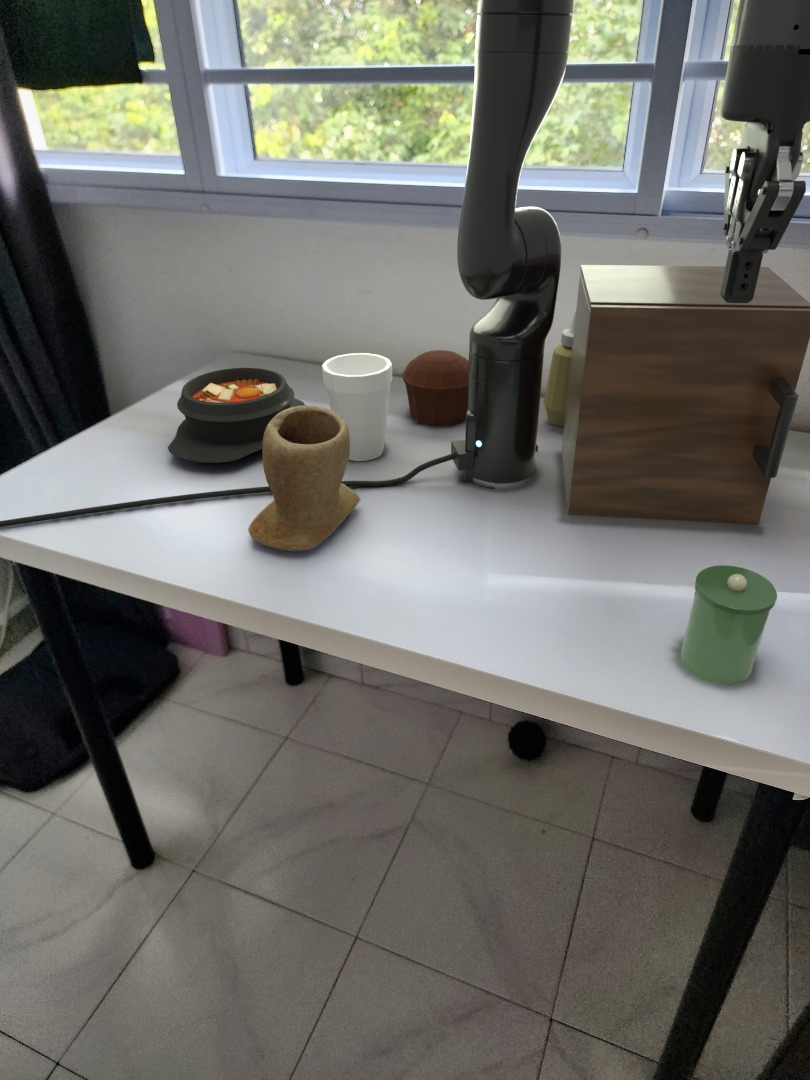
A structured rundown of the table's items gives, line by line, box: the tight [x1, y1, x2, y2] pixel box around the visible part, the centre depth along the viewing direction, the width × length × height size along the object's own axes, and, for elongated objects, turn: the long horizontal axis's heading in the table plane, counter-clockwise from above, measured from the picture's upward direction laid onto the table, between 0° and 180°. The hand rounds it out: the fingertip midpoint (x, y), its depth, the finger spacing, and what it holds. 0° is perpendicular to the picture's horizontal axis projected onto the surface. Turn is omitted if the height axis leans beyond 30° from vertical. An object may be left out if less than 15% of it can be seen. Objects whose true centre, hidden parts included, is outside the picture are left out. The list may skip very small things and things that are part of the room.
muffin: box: [402, 349, 469, 427], centre depth 116 cm, size 12×11×10 cm
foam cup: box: [321, 352, 393, 462], centre depth 105 cm, size 10×9×13 cm
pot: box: [680, 564, 778, 685], centre depth 67 cm, size 7×7×10 cm
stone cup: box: [247, 404, 361, 552], centre depth 87 cm, size 15×12×15 cm
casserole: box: [167, 367, 306, 464], centre depth 111 cm, size 25×19×8 cm
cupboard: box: [561, 264, 810, 509], centre depth 91 cm, size 17×22×26 cm
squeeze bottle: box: [543, 310, 576, 428], centre depth 110 cm, size 8×8×18 cm
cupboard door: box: [566, 305, 810, 526], centre depth 81 cm, size 6×22×26 cm, turn 82°
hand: (735, 300), depth 60 cm, fingers closed
